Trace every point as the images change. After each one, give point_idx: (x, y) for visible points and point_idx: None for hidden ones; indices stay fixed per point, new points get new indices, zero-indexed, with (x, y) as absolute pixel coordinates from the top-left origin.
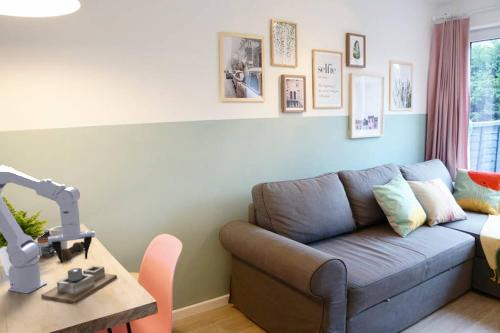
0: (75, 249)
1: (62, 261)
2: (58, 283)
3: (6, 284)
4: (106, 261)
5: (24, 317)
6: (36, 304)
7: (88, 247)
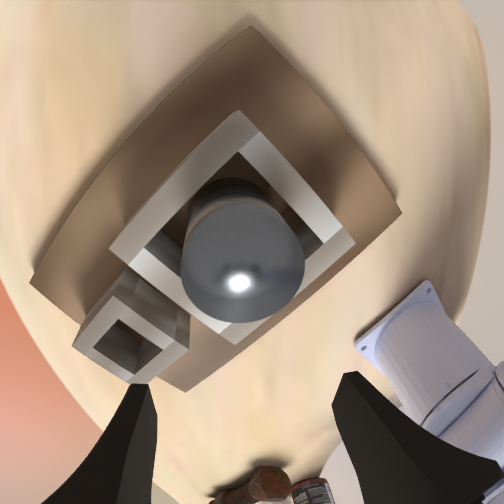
0: (237, 498)
1: (352, 380)
2: (345, 230)
3: None
4: None
5: (445, 53)
6: (415, 145)
7: (75, 476)
